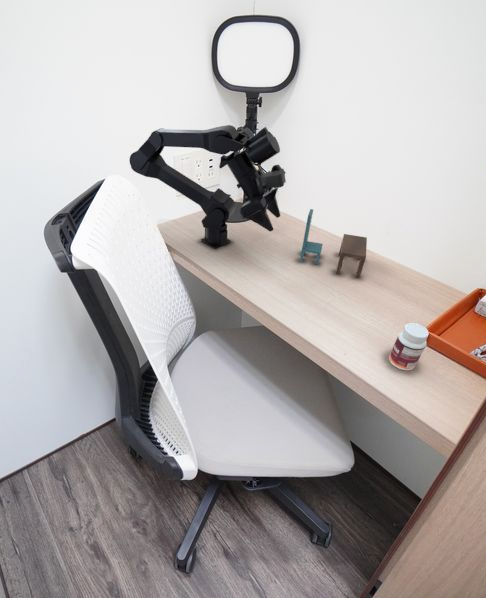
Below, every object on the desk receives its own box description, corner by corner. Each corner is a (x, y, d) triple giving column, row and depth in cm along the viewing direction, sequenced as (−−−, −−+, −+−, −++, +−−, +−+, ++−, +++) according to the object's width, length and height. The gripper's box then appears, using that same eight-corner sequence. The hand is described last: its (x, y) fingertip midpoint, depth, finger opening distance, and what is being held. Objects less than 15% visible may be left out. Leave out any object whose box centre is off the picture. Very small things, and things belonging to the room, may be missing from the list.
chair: (299, 261, 100) (307, 215, 92) (302, 253, 104) (310, 208, 96) (317, 264, 99) (328, 218, 90) (320, 256, 102) (329, 211, 94)
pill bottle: (388, 350, 72) (402, 318, 67) (414, 356, 71) (430, 324, 66) (388, 367, 69) (402, 334, 64) (415, 374, 68) (432, 341, 62)
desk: (335, 273, 95) (341, 252, 91) (338, 254, 103) (343, 233, 99) (359, 278, 93) (366, 256, 89) (360, 258, 102) (366, 237, 98)
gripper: (263, 167, 82) (296, 224, 87) (279, 147, 96) (307, 197, 101) (225, 191, 88) (257, 243, 93) (245, 169, 102) (273, 215, 107)
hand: (275, 223), depth 99 cm, fingers open, 9 cm apart
